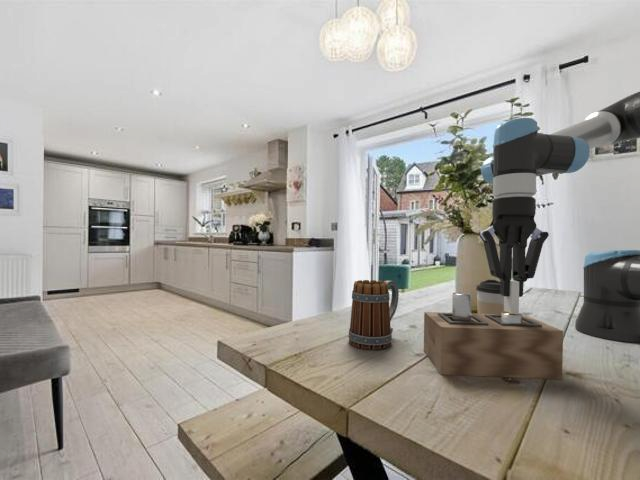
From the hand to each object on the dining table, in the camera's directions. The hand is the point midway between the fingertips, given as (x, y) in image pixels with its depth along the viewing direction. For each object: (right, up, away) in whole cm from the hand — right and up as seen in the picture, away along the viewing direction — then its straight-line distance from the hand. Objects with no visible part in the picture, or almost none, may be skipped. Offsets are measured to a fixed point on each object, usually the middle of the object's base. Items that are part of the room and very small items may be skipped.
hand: (511, 312), depth 63 cm
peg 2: (0, -9, 0) cm, 9 cm away
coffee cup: (+6, -11, +17) cm, 21 cm away
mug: (-25, -11, +14) cm, 31 cm away
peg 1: (-10, -5, +1) cm, 11 cm away
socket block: (-5, -11, 0) cm, 12 cm away
